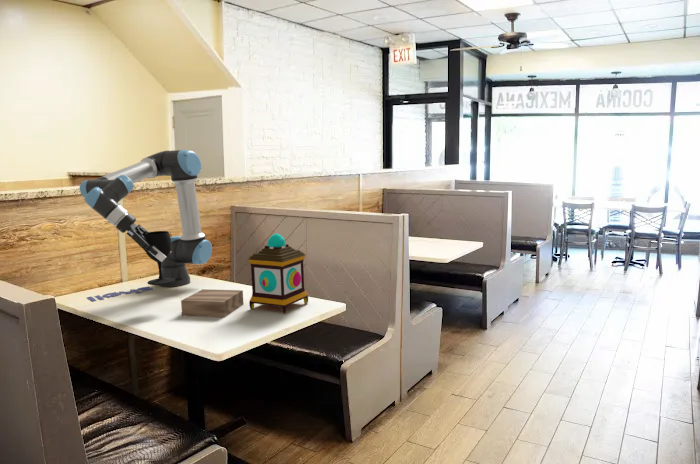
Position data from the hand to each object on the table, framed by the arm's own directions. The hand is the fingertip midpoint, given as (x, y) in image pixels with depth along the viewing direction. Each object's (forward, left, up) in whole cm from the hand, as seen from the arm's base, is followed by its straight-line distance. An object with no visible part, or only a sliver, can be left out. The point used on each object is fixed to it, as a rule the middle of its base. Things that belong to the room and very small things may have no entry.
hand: (166, 256), depth 218 cm
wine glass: (+1, -3, -10) cm, 11 cm away
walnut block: (-3, +17, -22) cm, 28 cm away
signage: (-23, -38, -23) cm, 50 cm away
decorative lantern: (-11, +42, -22) cm, 49 cm away
